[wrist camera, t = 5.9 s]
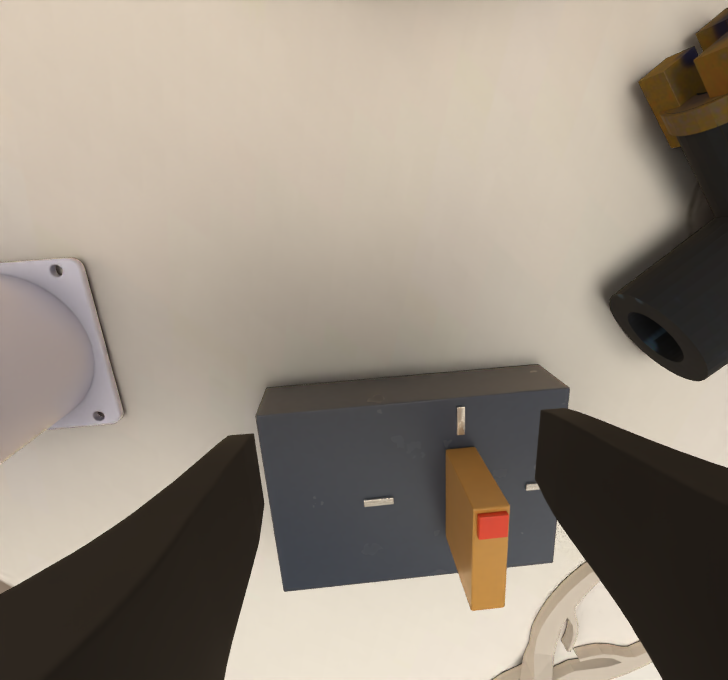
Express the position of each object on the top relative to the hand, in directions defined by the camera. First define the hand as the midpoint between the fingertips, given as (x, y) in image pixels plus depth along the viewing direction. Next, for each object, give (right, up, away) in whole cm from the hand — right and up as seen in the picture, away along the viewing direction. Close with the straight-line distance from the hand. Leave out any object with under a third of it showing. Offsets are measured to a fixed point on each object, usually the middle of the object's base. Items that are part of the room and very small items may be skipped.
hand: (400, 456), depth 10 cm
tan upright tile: (+4, -4, +9) cm, 11 cm away
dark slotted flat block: (+1, -4, +12) cm, 13 cm away
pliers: (+12, -18, +18) cm, 28 cm away
